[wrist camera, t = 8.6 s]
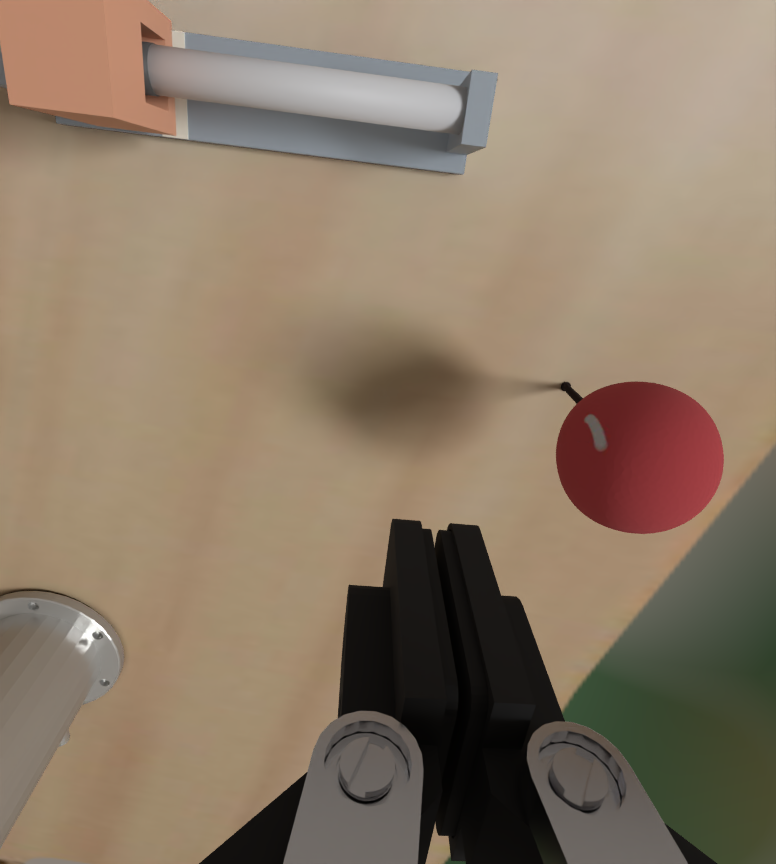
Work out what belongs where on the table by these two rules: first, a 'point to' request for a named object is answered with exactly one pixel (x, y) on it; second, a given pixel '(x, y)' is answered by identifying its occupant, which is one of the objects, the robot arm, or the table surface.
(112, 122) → the collar
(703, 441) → the lollipop
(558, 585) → the table surface
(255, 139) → the rail
